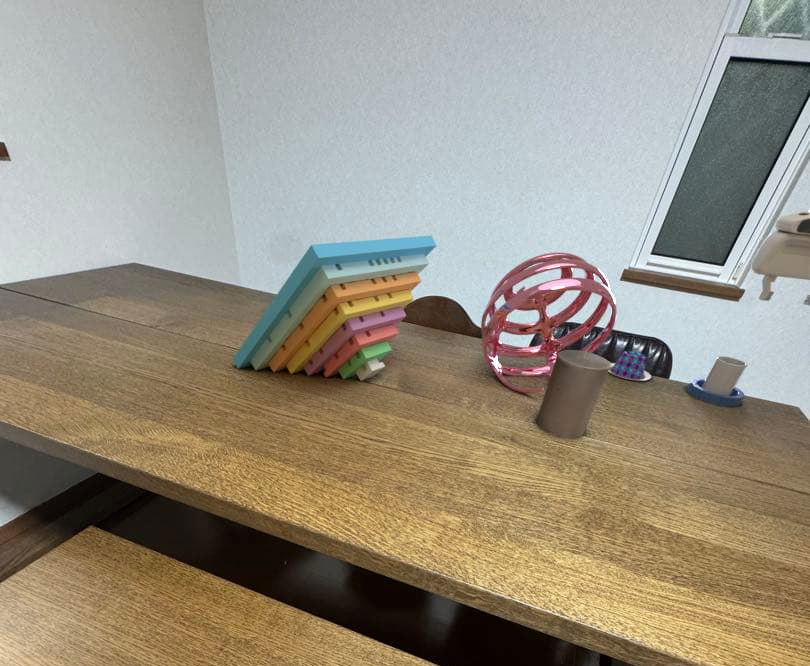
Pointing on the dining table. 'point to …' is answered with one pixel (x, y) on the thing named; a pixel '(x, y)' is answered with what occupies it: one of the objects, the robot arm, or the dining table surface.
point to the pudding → (631, 366)
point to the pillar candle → (572, 393)
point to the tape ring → (714, 394)
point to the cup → (724, 375)
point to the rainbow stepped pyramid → (338, 308)
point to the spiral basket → (543, 313)
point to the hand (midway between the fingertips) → (785, 302)
